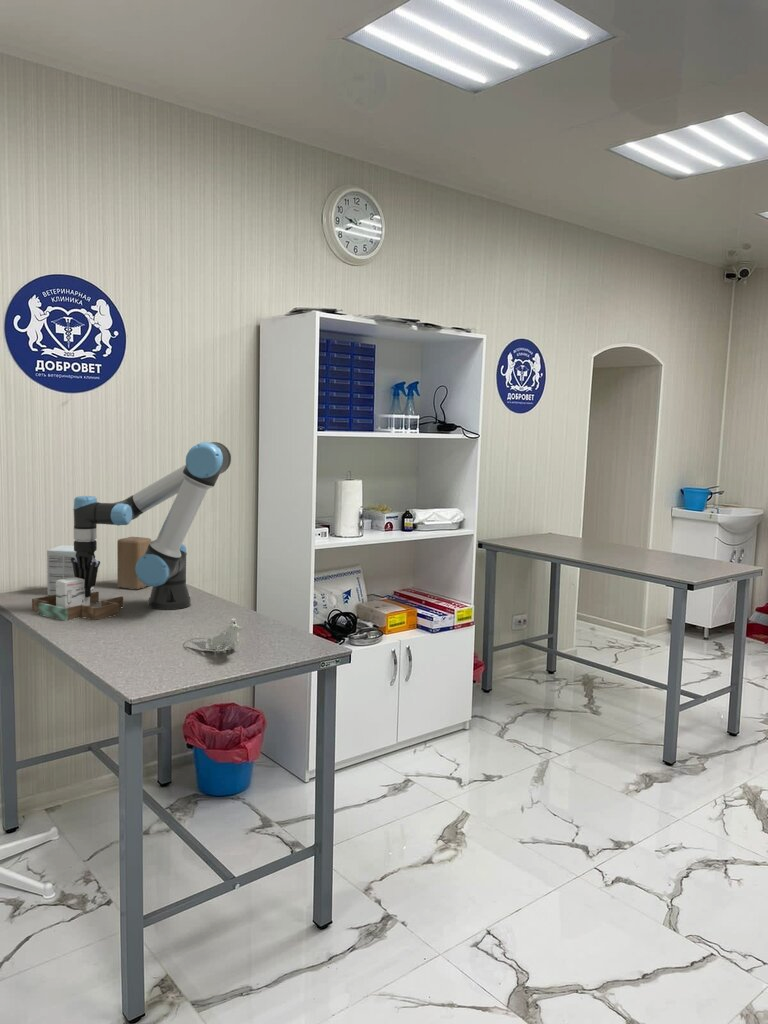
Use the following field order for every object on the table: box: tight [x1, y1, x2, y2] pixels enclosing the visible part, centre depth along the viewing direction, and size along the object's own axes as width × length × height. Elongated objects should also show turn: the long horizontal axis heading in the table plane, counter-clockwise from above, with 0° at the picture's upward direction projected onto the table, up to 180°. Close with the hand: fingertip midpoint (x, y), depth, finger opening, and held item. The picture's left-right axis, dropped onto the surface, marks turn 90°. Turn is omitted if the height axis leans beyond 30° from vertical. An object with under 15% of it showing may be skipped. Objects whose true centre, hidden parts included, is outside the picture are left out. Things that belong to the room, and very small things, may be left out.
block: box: [116, 536, 152, 590], centre depth 318 cm, size 10×10×20 cm
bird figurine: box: [183, 617, 244, 653], centre depth 234 cm, size 16×9×25 cm
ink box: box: [56, 577, 85, 608], centre depth 274 cm, size 9×5×12 cm, turn 150°
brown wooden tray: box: [31, 591, 124, 621], centre depth 277 cm, size 28×24×4 cm
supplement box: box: [46, 544, 94, 596], centre depth 305 cm, size 13×13×18 cm
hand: (85, 605), depth 279 cm, fingers closed
